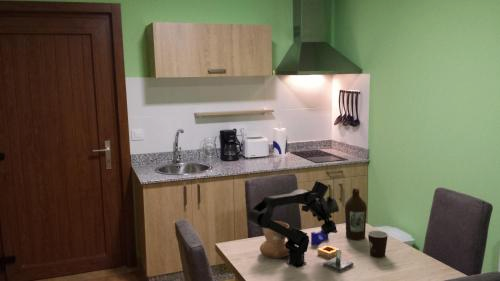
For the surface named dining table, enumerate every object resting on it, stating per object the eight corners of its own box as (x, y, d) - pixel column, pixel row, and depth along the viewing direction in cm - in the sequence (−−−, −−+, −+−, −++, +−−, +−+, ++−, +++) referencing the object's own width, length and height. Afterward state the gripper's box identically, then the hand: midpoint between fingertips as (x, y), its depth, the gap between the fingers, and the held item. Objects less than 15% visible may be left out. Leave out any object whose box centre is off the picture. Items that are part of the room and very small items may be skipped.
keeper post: (340, 272, 187) (340, 255, 186) (323, 265, 194) (323, 249, 193) (353, 266, 193) (353, 249, 192) (336, 260, 200) (336, 243, 199)
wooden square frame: (329, 258, 201) (329, 253, 201) (317, 254, 207) (317, 249, 206) (339, 254, 206) (339, 249, 206) (327, 250, 211) (327, 245, 211)
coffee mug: (388, 259, 199) (388, 237, 198) (368, 258, 201) (368, 236, 199) (386, 249, 210) (386, 228, 209) (366, 248, 212) (367, 228, 211)
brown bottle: (343, 233, 233) (343, 186, 230) (364, 233, 233) (364, 185, 229) (346, 240, 223) (346, 191, 219) (368, 240, 222) (369, 191, 219)
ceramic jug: (292, 262, 199) (292, 230, 197) (259, 262, 199) (259, 230, 198) (290, 247, 217) (290, 218, 215) (260, 247, 217) (259, 218, 216)
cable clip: (320, 236, 230) (320, 225, 229) (328, 238, 227) (328, 226, 226) (308, 243, 221) (308, 232, 220) (316, 245, 218) (316, 233, 217)
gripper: (336, 213, 191) (355, 231, 199) (325, 184, 206) (342, 201, 214) (315, 226, 194) (334, 243, 202) (305, 196, 209) (323, 213, 217)
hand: (333, 224), depth 209 cm, fingers open, 9 cm apart
